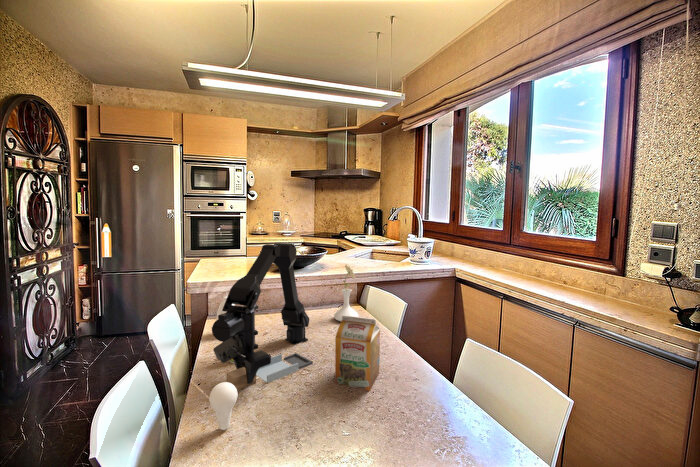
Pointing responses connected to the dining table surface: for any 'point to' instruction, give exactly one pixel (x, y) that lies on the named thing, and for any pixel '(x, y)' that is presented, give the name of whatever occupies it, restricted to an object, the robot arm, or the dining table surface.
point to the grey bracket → (276, 369)
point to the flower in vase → (346, 300)
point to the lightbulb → (223, 402)
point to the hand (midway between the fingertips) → (245, 380)
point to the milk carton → (357, 352)
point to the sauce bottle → (222, 306)
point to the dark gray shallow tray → (298, 360)
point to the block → (239, 378)
